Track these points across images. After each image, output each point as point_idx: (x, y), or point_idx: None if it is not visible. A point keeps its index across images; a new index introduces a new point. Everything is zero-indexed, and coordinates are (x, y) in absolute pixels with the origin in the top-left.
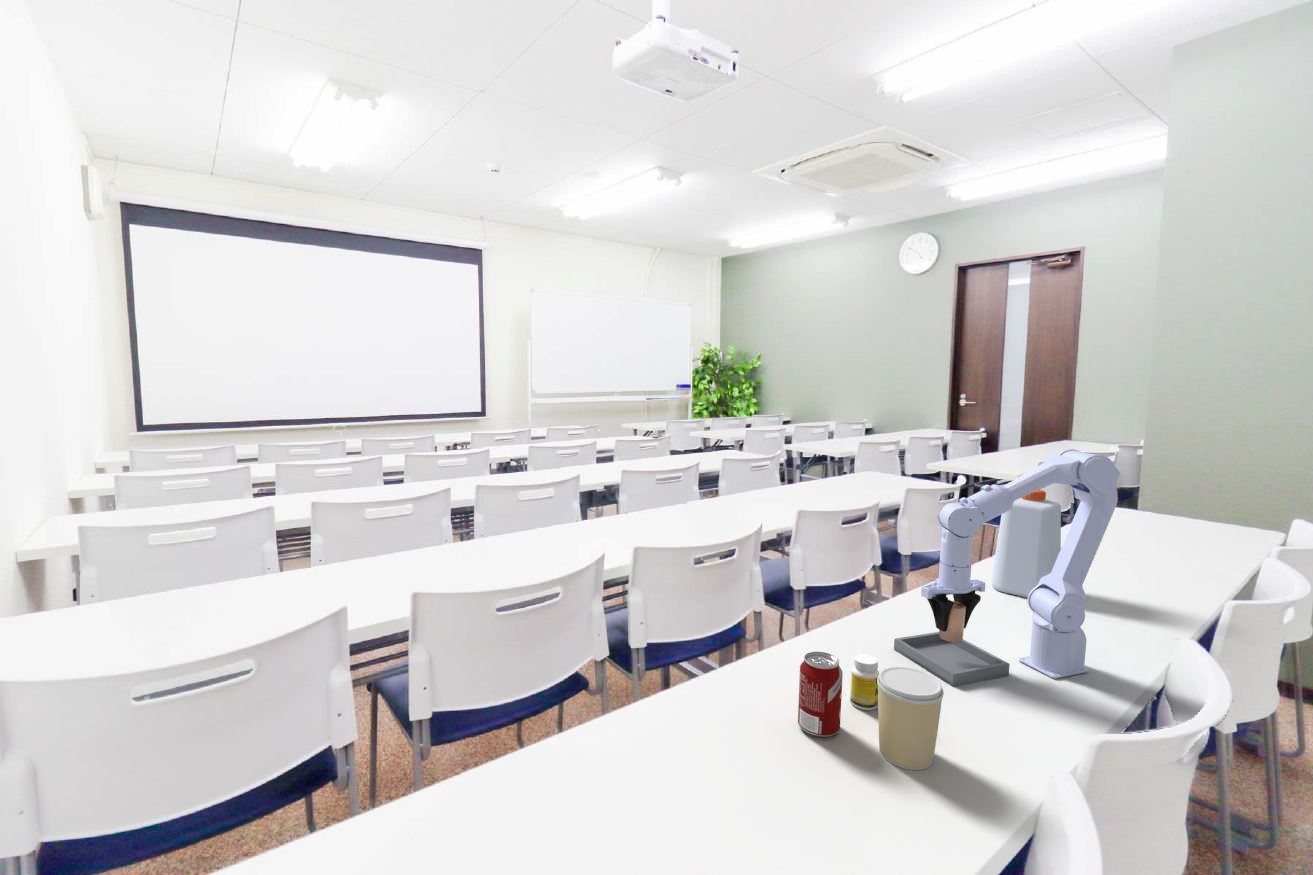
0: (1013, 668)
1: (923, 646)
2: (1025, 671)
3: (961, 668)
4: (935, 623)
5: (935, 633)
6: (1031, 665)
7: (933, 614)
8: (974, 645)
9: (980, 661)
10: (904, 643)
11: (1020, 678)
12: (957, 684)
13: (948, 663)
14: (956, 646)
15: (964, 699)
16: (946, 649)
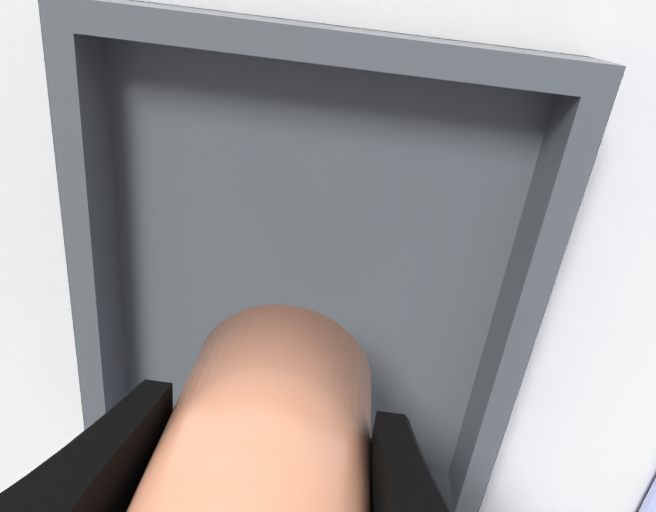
0: (561, 453)
1: (296, 92)
2: (580, 489)
3: None
4: (121, 399)
5: (470, 70)
6: (651, 497)
7: (48, 459)
8: (533, 337)
9: (452, 376)
10: (65, 104)
11: (482, 508)
12: None
13: None
14: (521, 194)
15: None
16: (412, 194)
